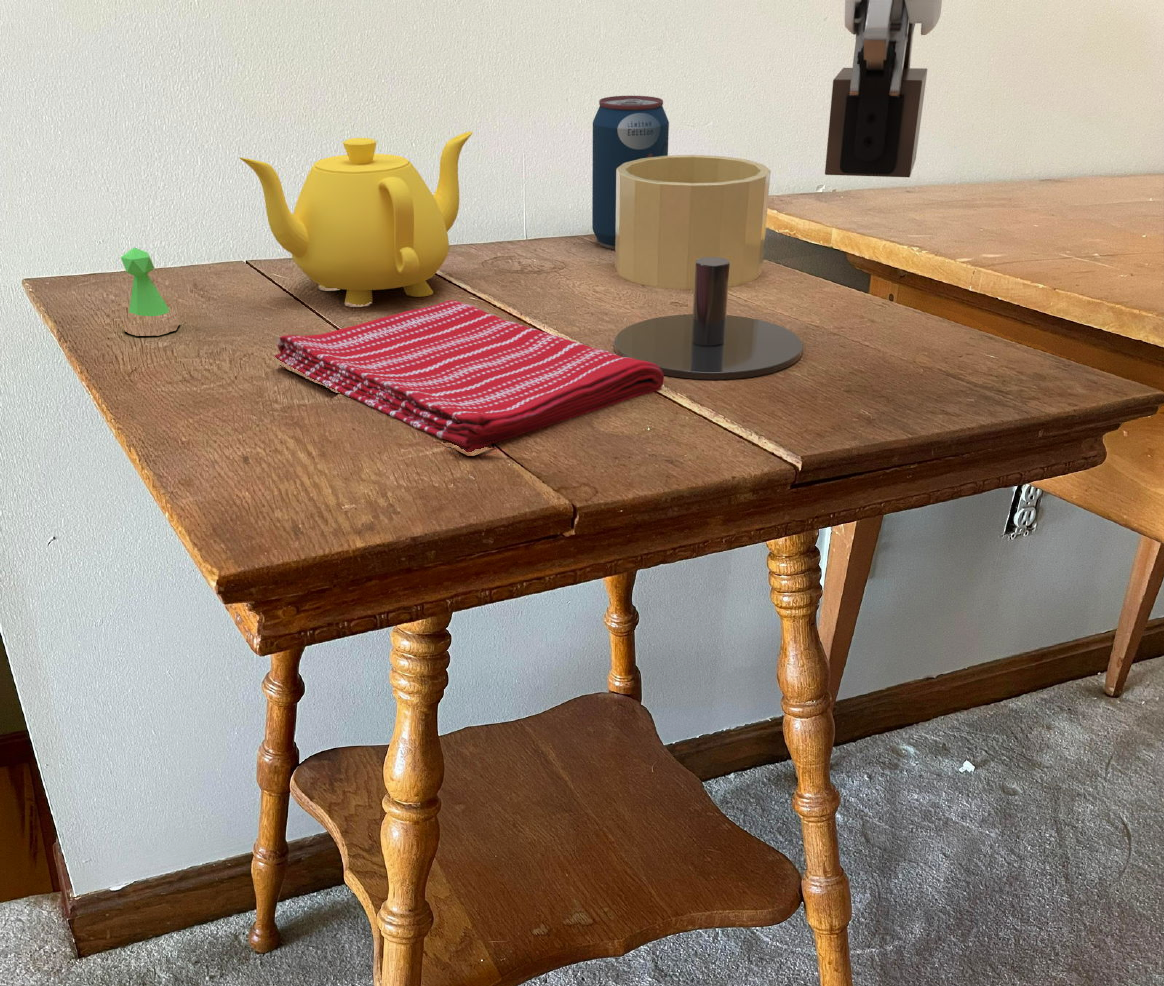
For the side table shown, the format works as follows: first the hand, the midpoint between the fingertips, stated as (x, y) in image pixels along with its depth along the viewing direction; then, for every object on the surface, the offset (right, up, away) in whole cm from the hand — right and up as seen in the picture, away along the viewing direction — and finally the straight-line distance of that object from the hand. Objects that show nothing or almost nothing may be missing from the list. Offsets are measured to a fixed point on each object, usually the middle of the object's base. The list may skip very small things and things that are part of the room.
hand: (872, 159), depth 73 cm
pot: (-8, +6, +32) cm, 34 cm away
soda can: (-13, +13, +42) cm, 46 cm away
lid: (-9, -6, +14) cm, 18 cm away
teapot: (-35, +3, +28) cm, 45 cm away
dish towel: (-26, -10, +10) cm, 30 cm away
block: (0, 0, 0) cm, 0 cm away
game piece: (-51, -3, +21) cm, 55 cm away
